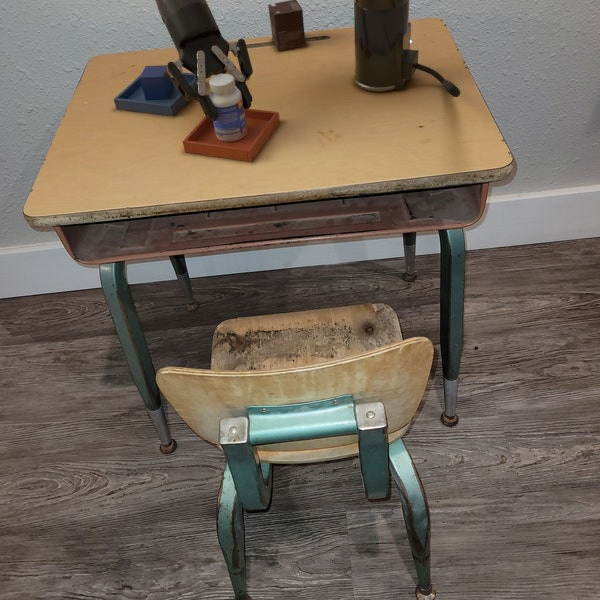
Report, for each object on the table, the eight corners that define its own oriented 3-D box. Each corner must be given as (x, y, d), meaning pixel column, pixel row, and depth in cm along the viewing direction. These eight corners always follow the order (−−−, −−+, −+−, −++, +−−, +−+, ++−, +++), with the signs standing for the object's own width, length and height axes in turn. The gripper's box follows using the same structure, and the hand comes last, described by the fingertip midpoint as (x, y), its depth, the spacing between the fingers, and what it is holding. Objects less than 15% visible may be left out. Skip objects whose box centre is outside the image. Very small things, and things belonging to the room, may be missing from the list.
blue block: (174, 87, 114) (168, 64, 111) (168, 99, 111) (162, 76, 108) (152, 88, 114) (145, 65, 111) (145, 100, 111) (138, 77, 108)
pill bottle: (250, 138, 99) (242, 83, 92) (219, 145, 98) (207, 90, 91) (244, 122, 103) (235, 68, 96) (213, 129, 102) (202, 75, 95)
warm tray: (280, 122, 103) (278, 112, 101) (251, 161, 95) (249, 151, 94) (217, 114, 106) (215, 104, 105) (185, 152, 99) (182, 141, 97)
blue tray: (203, 84, 115) (201, 74, 113) (173, 116, 107) (170, 106, 106) (149, 78, 119) (147, 68, 117) (116, 109, 111) (113, 99, 110)
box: (306, 46, 123) (303, 9, 117) (277, 51, 122) (273, 14, 117) (299, 34, 127) (296, -2, 121) (271, 39, 126) (267, 3, 121)
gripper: (145, 15, 89) (195, 120, 90) (231, -11, 93) (277, 90, 95) (142, 38, 96) (188, 136, 97) (222, 14, 100) (265, 107, 102)
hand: (232, 112), depth 96 cm, fingers closed on pill bottle, 5 cm apart
